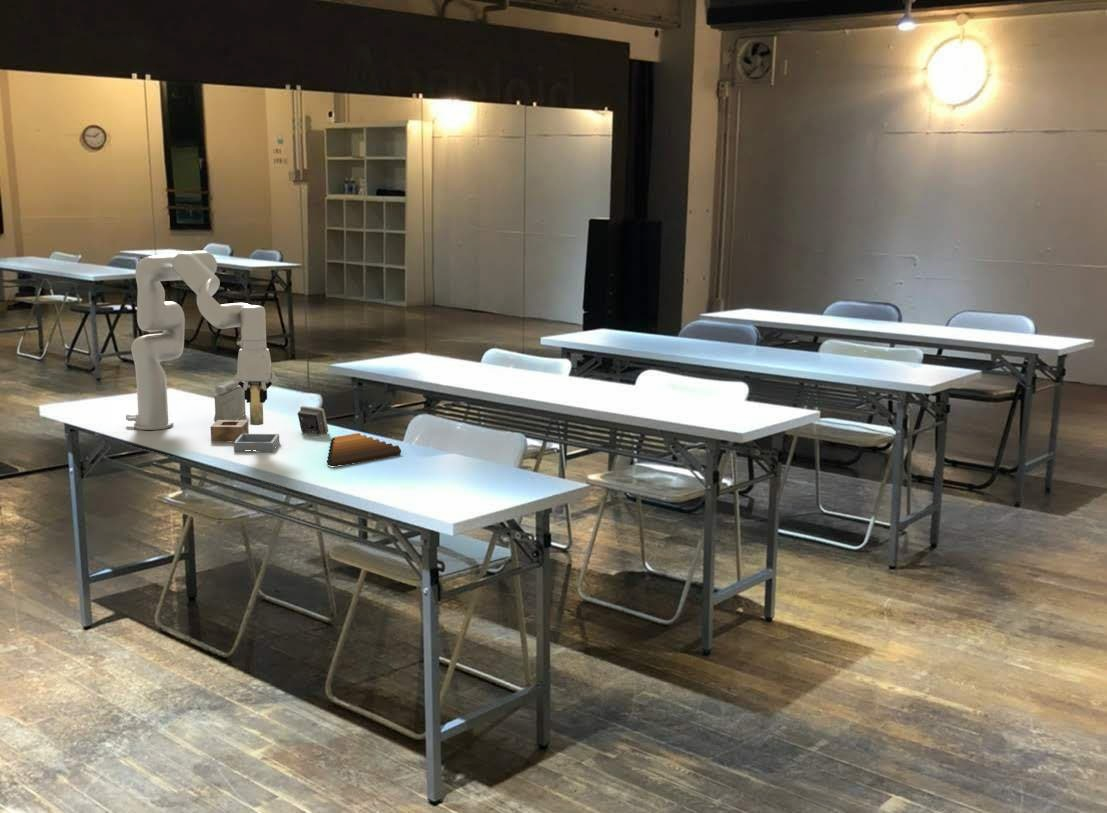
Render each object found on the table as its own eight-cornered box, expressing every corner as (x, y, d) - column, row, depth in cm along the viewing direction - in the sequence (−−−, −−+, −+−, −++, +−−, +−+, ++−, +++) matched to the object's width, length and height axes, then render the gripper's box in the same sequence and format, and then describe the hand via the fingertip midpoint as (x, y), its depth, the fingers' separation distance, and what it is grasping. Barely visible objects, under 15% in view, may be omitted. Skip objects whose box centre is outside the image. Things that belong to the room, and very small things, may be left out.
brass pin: (249, 425, 327) (247, 381, 324) (251, 422, 331) (250, 379, 328) (262, 425, 328) (260, 381, 325) (264, 422, 331) (263, 379, 329)
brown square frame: (211, 441, 336) (210, 426, 335) (218, 434, 346) (217, 419, 345) (242, 441, 337) (242, 426, 336) (248, 434, 347) (248, 420, 346)
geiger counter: (233, 376, 374) (204, 389, 350) (250, 377, 374) (222, 390, 350) (235, 414, 377) (206, 429, 353) (252, 414, 377) (224, 430, 352)
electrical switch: (329, 433, 353) (327, 407, 350) (320, 437, 348) (318, 411, 345) (306, 430, 356) (304, 404, 354) (297, 434, 352) (294, 408, 349)
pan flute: (333, 469, 310) (401, 456, 327) (333, 458, 309) (401, 446, 326) (289, 453, 327) (356, 441, 344) (289, 443, 326) (356, 431, 343)
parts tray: (233, 451, 325) (233, 442, 324) (241, 442, 336) (241, 433, 336) (272, 452, 326) (272, 442, 325) (279, 442, 337) (279, 433, 337)
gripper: (224, 346, 320) (226, 404, 324) (279, 346, 321) (280, 404, 325) (229, 343, 327) (231, 399, 331) (283, 343, 329) (284, 399, 332)
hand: (256, 401), depth 328 cm, fingers closed on brass pin, 4 cm apart
